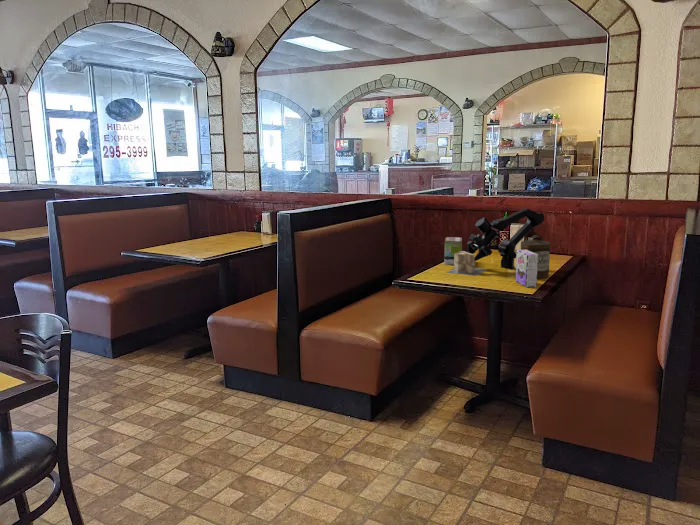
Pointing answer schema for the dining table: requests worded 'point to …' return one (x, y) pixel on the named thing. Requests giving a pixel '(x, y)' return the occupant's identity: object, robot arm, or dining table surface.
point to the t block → (464, 261)
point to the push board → (476, 272)
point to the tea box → (452, 249)
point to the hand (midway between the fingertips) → (469, 259)
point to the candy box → (526, 268)
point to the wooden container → (539, 254)
